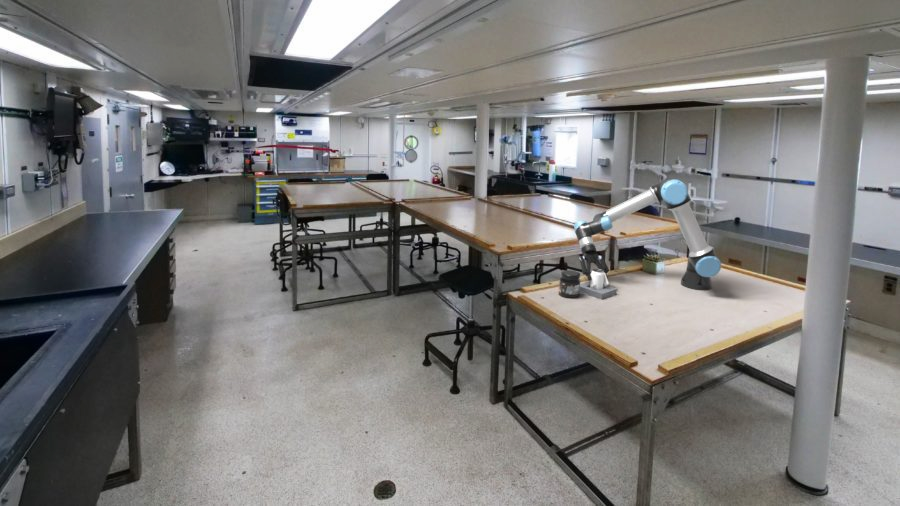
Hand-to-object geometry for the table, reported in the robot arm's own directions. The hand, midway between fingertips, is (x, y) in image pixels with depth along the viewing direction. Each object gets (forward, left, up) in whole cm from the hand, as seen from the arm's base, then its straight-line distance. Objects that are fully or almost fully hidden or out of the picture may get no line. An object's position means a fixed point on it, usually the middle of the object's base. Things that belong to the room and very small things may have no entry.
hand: (600, 285), depth 240 cm
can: (+3, -2, -5) cm, 6 cm away
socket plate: (+3, -1, -5) cm, 6 cm away
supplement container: (+9, +14, -5) cm, 17 cm away
